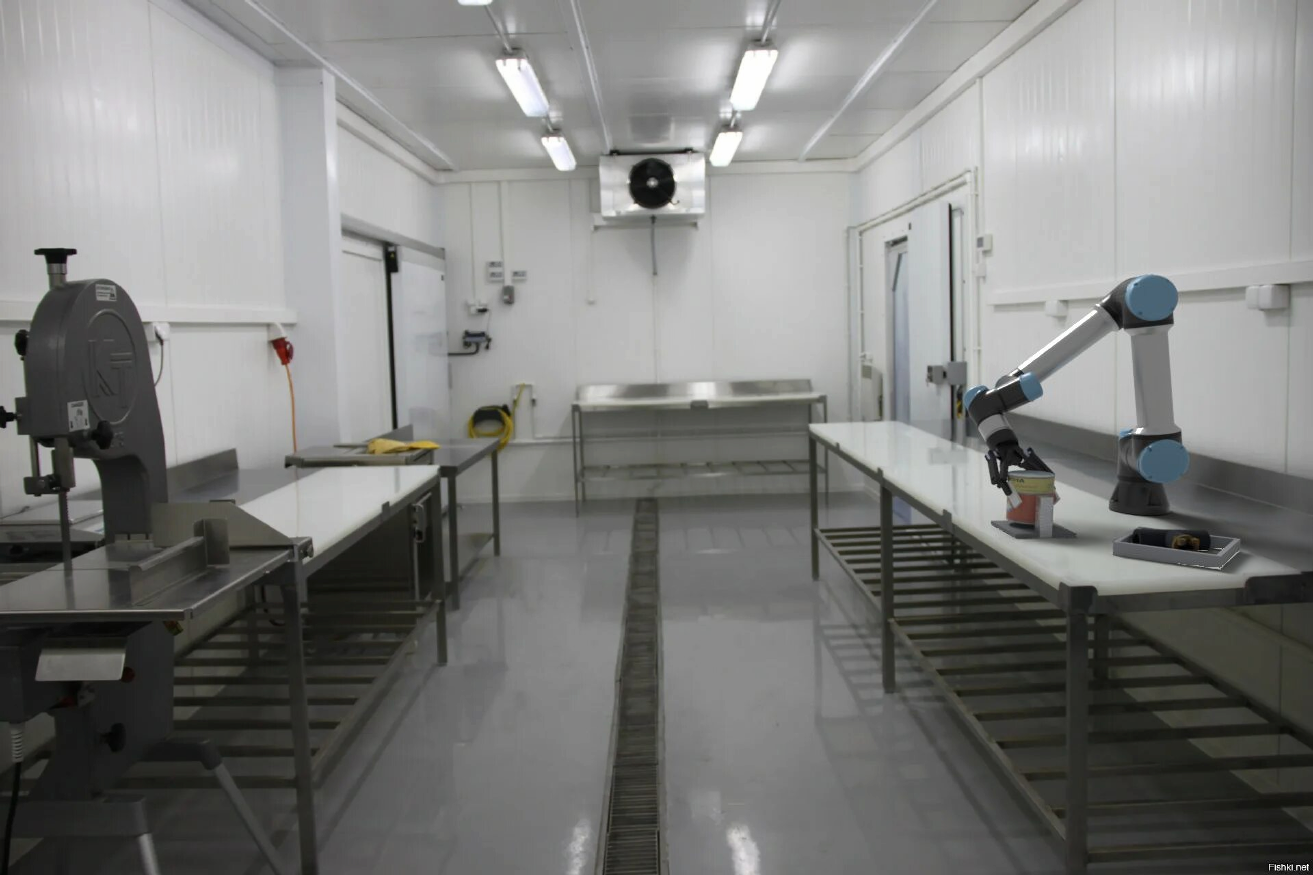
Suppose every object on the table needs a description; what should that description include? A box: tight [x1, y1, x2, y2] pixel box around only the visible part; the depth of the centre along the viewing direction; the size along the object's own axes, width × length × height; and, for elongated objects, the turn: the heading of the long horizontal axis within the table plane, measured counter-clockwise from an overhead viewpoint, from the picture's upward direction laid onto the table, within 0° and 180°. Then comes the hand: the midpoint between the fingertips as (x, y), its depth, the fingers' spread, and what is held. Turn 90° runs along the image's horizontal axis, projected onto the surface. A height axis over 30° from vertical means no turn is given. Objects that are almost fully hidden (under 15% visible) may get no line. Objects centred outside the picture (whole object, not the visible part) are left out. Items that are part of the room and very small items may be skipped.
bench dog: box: [1035, 495, 1054, 539], centre depth 223 cm, size 3×3×10 cm
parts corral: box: [1112, 526, 1241, 568], centre depth 205 cm, size 21×21×3 cm
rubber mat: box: [990, 519, 1077, 539], centre depth 230 cm, size 16×15×1 cm
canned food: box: [1005, 469, 1056, 524], centre depth 231 cm, size 11×11×12 cm
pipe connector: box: [1132, 528, 1211, 552], centre depth 205 cm, size 12×5×15 cm
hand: (1037, 503), depth 228 cm, fingers closed on canned food, 11 cm apart
